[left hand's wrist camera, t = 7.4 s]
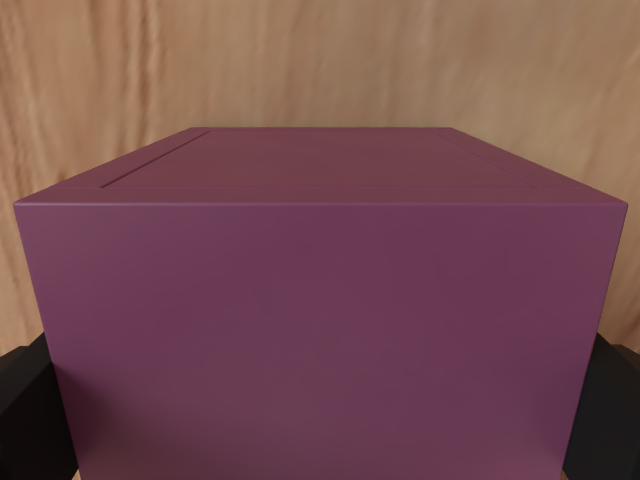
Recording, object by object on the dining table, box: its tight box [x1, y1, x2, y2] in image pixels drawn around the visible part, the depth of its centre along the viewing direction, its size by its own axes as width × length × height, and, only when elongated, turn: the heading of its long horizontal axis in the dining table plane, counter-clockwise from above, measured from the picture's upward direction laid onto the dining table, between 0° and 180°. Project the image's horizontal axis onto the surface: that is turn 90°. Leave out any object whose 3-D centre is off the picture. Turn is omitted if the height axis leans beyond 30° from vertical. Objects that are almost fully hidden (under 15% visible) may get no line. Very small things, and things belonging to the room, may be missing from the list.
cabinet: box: [13, 128, 628, 480], centre depth 15 cm, size 16×10×11 cm, turn 0°
